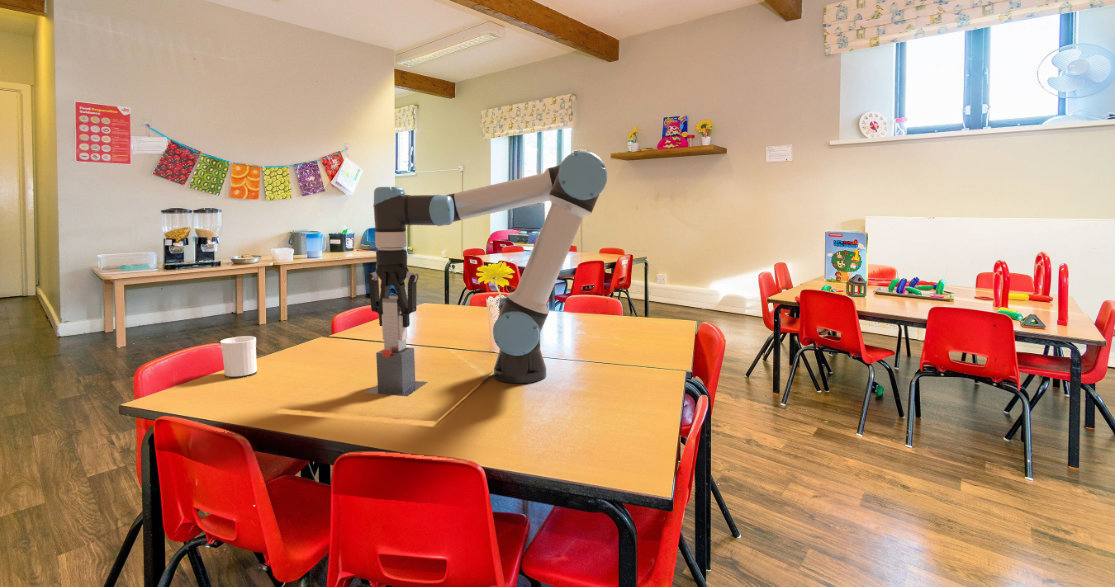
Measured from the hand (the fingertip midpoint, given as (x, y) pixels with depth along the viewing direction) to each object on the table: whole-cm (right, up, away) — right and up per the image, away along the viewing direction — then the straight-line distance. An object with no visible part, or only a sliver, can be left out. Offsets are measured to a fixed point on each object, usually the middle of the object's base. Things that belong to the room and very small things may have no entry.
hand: (395, 338), depth 141 cm
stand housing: (0, -14, +2) cm, 14 cm away
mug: (-50, -12, +17) cm, 54 cm away
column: (0, -12, +2) cm, 12 cm away
